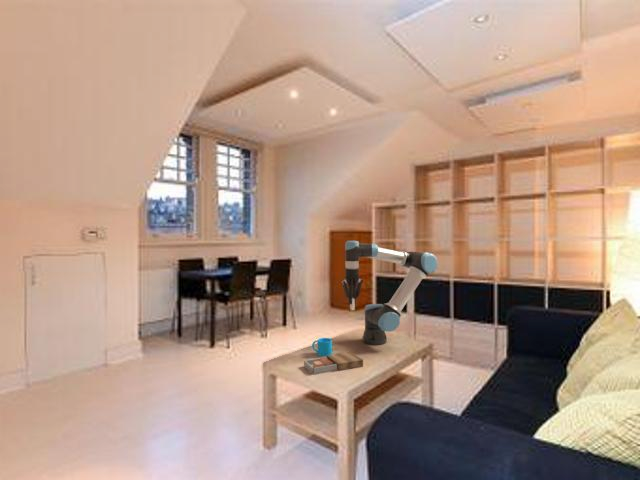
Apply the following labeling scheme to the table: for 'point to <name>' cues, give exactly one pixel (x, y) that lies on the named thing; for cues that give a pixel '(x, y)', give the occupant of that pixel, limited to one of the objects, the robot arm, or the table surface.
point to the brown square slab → (345, 360)
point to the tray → (327, 368)
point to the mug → (323, 347)
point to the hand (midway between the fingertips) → (352, 309)
